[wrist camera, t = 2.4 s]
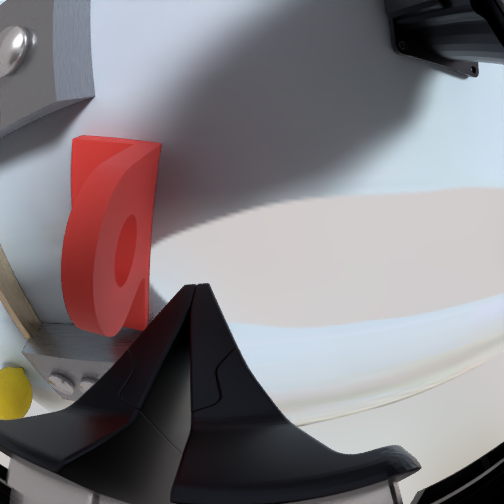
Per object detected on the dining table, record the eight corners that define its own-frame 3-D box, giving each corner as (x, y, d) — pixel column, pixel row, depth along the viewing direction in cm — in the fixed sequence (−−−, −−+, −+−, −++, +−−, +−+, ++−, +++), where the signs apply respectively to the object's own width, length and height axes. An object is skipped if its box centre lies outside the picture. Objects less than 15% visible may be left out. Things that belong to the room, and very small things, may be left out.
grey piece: (90, -16, 7) (51, -37, 3) (181, 378, 22) (176, 418, 19) (-42, 74, 7) (-81, 84, 3) (69, 370, 22) (57, 402, 18)
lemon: (35, 366, 22) (13, 422, 15) (43, 387, 25) (26, 437, 18) (0, 347, 21) (-25, 398, 14) (11, 370, 23) (-8, 416, 16)
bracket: (83, 135, 12) (-26, 188, 5) (162, 143, 12) (85, 204, 6) (91, 306, 18) (52, 397, 11) (148, 319, 18) (124, 420, 12)
